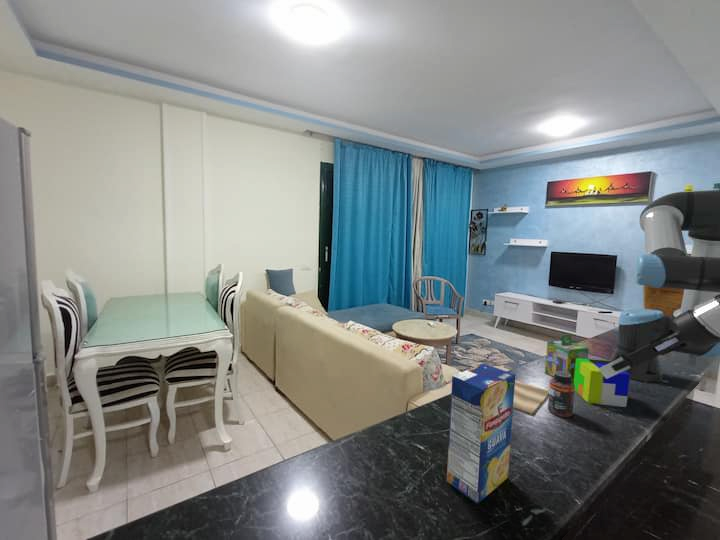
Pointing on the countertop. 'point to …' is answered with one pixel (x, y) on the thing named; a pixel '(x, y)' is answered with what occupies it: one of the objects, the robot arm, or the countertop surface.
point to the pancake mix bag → (662, 299)
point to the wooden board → (528, 397)
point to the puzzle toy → (600, 383)
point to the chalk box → (564, 356)
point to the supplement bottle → (561, 394)
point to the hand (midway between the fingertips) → (603, 373)
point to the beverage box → (480, 430)
